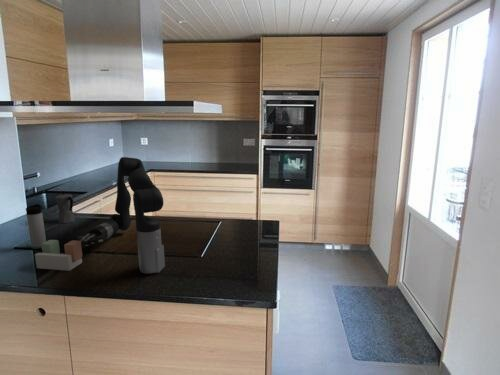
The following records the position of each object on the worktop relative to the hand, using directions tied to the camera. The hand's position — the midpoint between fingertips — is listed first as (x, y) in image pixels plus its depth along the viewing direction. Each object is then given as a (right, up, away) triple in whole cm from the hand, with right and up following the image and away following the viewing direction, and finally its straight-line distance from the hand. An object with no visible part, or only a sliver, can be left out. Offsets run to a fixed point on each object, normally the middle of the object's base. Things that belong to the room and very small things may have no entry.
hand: (77, 246), depth 146 cm
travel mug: (-27, -3, +18) cm, 33 cm away
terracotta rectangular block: (0, -5, -1) cm, 5 cm away
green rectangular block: (-10, -5, -1) cm, 11 cm away
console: (-6, -7, -2) cm, 9 cm away
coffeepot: (-34, +5, +55) cm, 65 cm away
